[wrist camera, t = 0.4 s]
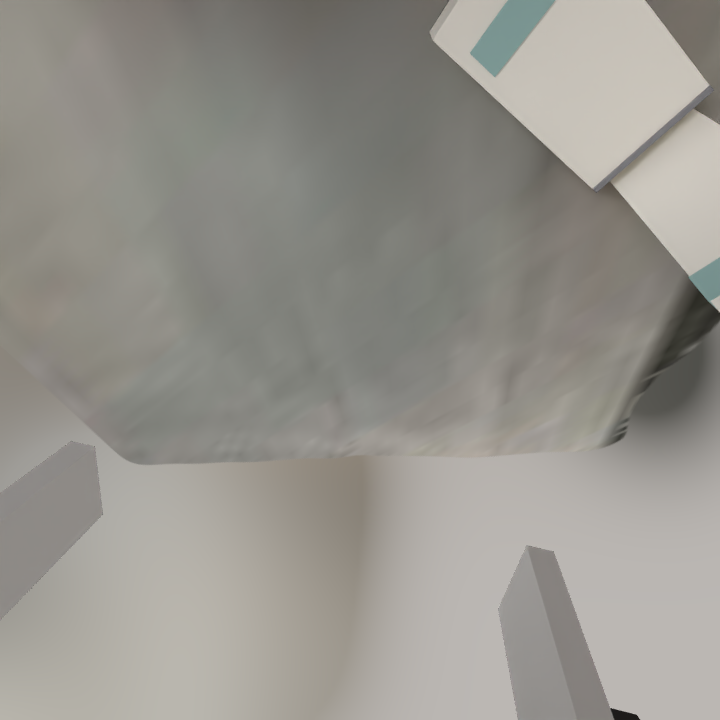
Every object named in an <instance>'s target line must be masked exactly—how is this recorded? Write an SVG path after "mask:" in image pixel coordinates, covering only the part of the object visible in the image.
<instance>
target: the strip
mask: <svg viewBox="0 0 720 720" xmlns="http://www.w3.org/2000/svg"><path fill="white" fill-rule="evenodd" d="M430 35H431V38H432V40H433V41H434V42H435V43H436V44H437V45H438V46H439V47H440V48H441V49H442V50H443V51H445V52H446V53H447V54H448V55H449V56H450V57H451V58H452V59H453V60H454V61H455V62H456V63H457V64H458V65H460V66H461V67H462V68H463V69H464V70H465V71H466V72H467V73H468V74H469V75H470V76H471V77H472V78H474V79H475V80H476V81H477V82H478V83H479V84H480V85H481V86H482V87H483V88H484V89H485V90H486V91H488V92H489V93H490V94H491V95H492V96H493V97H494V98H495V99H496V100H497V101H498V102H499V103H500V104H502V105H503V106H504V107H505V108H506V109H507V110H508V111H509V112H510V113H511V114H512V115H513V116H514V117H516V118H517V119H518V120H519V121H520V122H521V123H522V124H523V125H524V126H525V127H526V128H527V129H528V130H530V131H531V132H532V133H533V134H534V135H535V136H536V137H537V138H538V139H539V140H540V141H541V142H542V143H543V144H545V145H546V146H547V147H548V148H549V149H550V150H551V151H552V152H553V153H554V154H555V155H556V156H557V157H559V158H560V159H561V160H562V161H563V162H564V163H565V164H566V165H567V166H568V167H569V168H570V169H571V170H573V171H574V172H575V173H576V174H577V175H578V176H579V177H580V178H581V179H582V180H583V181H584V182H585V183H587V184H588V185H589V186H590V187H591V188H592V189H593V190H594V191H595V192H596V193H597V192H598V191H599V190H600V189H601V188H603V187H604V186H605V185H606V184H607V183H608V182H609V181H611V180H612V179H613V178H614V177H615V176H616V175H618V174H619V173H620V172H621V171H622V170H623V169H624V168H626V167H627V166H628V165H629V164H630V163H631V162H632V161H634V160H635V159H636V158H637V157H638V156H639V155H640V154H642V153H643V152H644V151H645V150H646V149H647V148H649V147H650V146H651V145H652V144H653V143H654V142H655V141H657V140H658V139H659V138H660V137H661V136H662V135H663V134H665V133H666V132H667V131H668V130H669V129H670V128H671V127H673V126H674V125H675V124H676V123H677V122H678V121H680V120H681V119H682V118H683V117H684V116H685V115H686V114H688V113H689V112H690V111H691V110H692V109H693V108H694V107H696V106H697V105H698V104H699V103H700V102H701V101H703V100H704V99H705V98H706V97H707V96H708V95H709V94H711V93H712V92H713V91H714V89H713V88H712V87H711V86H710V85H709V84H708V83H707V81H706V80H705V79H704V77H703V76H702V75H701V73H700V72H699V71H698V69H697V68H696V67H695V65H694V64H693V63H692V61H691V60H690V59H689V57H688V56H687V55H686V53H685V52H684V51H683V50H682V48H681V47H680V46H679V44H678V43H677V42H676V40H675V39H674V38H673V36H672V35H671V34H670V32H669V31H668V30H667V28H666V27H665V26H664V24H663V23H662V22H661V20H660V19H659V18H658V16H657V15H656V14H655V13H654V11H653V10H652V9H651V7H650V6H649V5H648V3H647V2H646V1H645V0H449V2H448V4H447V5H446V7H445V8H444V10H443V11H442V13H441V14H440V16H439V18H438V19H437V21H436V22H435V24H434V25H433V27H432V29H431V30H430Z"/></svg>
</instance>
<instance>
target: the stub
mask: <svg viewBox="0 0 720 720" xmlns="http://www.w3.org/2000/svg"><path fill="white" fill-rule="evenodd" d="M610 182H611V183H612V184H613V185H614V187H615V188H616V189H617V190H618V191H619V193H620V194H621V195H622V196H623V197H624V199H625V200H626V201H627V202H628V203H629V205H630V206H631V207H632V208H633V209H634V211H635V212H636V213H637V214H638V215H639V217H640V218H641V219H642V220H643V221H644V222H645V224H646V225H647V226H648V227H649V228H650V230H651V231H652V232H653V233H654V234H655V236H656V237H657V238H658V239H659V240H660V242H661V243H662V244H663V245H664V246H665V248H666V249H667V250H668V251H669V252H670V254H671V255H672V256H673V257H674V258H675V260H676V261H677V262H678V263H679V264H680V266H681V267H682V268H683V269H684V270H685V272H686V273H687V274H688V275H689V277H688V278H689V279H690V280H691V281H692V282H693V284H694V285H695V286H696V287H697V288H698V290H699V291H700V292H701V293H702V294H703V296H704V297H705V298H706V299H707V300H708V302H709V303H711V304H712V305H713V306H714V307H715V308H716V309H717V310H718V311H719V312H720V125H719V124H718V123H716V122H714V121H713V120H711V119H710V118H708V117H706V116H705V115H703V114H702V113H700V112H698V111H697V110H695V109H694V108H693V109H692V110H691V111H690V112H689V113H688V114H686V115H685V116H684V117H683V118H682V119H681V120H680V121H678V122H677V123H676V124H675V125H674V126H673V127H671V128H670V129H669V130H668V131H667V132H666V133H665V134H663V135H662V136H661V137H660V138H659V139H658V140H657V141H655V142H654V143H653V144H652V145H651V146H650V147H649V148H647V149H646V150H645V151H644V152H643V153H642V154H640V155H639V156H638V157H637V158H636V159H635V160H634V161H632V162H631V163H630V164H629V165H628V166H627V167H626V168H624V169H623V170H622V171H621V172H620V173H619V174H618V175H616V176H615V177H614V178H613V179H612V180H611V181H610Z"/></svg>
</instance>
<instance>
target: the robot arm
mask: <svg viewBox="0 0 720 720" xmlns="http://www.w3.org/2000/svg"><path fill="white" fill-rule="evenodd" d="M102 515H103V510H102V502H101V493H100V486H99V477H98V469H97V461H96V452H95V446H90V445H86V444H81V443H77V442H73V441H71V442H69V443H68V444H67V445H65V446H64V447H63V448H61V449H60V450H58V451H57V452H56V453H54V454H53V455H52V456H50V457H49V458H47V459H46V460H45V461H43V462H42V463H41V464H39V465H38V466H36V467H35V468H34V469H32V470H31V471H30V472H28V473H27V474H25V475H24V476H23V477H21V478H20V479H19V480H17V481H16V482H14V483H13V484H12V485H10V486H9V487H8V488H6V489H5V490H4V491H2V492H1V493H0V620H1V619H2V618H3V617H4V616H5V615H6V614H7V613H8V612H9V611H10V610H11V608H13V606H14V605H15V604H16V603H17V602H18V601H19V600H20V599H21V598H22V597H23V596H24V595H25V594H26V593H27V592H28V591H29V590H30V589H31V588H32V587H33V586H34V585H35V584H36V583H37V582H38V581H39V580H40V579H41V578H42V577H43V576H44V575H45V574H46V572H48V570H49V569H50V568H51V567H52V566H53V565H54V564H55V563H56V562H57V561H58V560H59V559H60V558H61V557H62V556H63V555H64V554H65V553H66V552H67V551H68V550H69V549H70V548H71V547H72V546H73V545H74V544H75V543H76V541H78V540H79V539H80V538H81V536H82V535H83V534H84V533H85V532H86V531H87V530H88V529H89V528H90V527H91V526H92V525H93V524H94V523H95V522H96V521H97V520H98V519H99V518H100V517H101V516H102ZM498 611H499V617H500V622H501V627H502V633H503V639H504V645H505V650H506V656H507V661H508V666H509V672H510V678H511V684H512V689H513V694H514V700H515V705H516V711H517V717H518V720H640V719H639V718H638V716H637V715H635V714H632V713H627V712H623V711H619V710H616V709H612V708H610V707H609V704H608V701H607V698H606V695H605V693H604V690H603V687H602V684H601V682H600V679H599V676H598V673H597V671H596V668H595V665H594V662H593V659H592V657H591V654H590V651H589V648H588V646H587V643H586V640H585V637H584V634H583V632H582V629H581V626H580V623H579V620H578V618H577V615H576V612H575V610H574V607H573V604H572V601H571V598H570V595H569V593H568V590H567V587H566V584H565V582H564V579H563V576H562V573H561V571H560V568H559V565H558V562H557V559H556V557H555V554H554V552H553V551H549V550H545V549H540V548H536V547H532V546H526V549H525V550H524V553H523V555H522V557H521V559H520V561H519V564H518V566H517V568H516V570H515V572H514V575H513V577H512V579H511V581H510V584H509V586H508V588H507V590H506V593H505V595H504V597H503V599H502V601H501V604H500V606H499V608H498Z"/></svg>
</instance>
